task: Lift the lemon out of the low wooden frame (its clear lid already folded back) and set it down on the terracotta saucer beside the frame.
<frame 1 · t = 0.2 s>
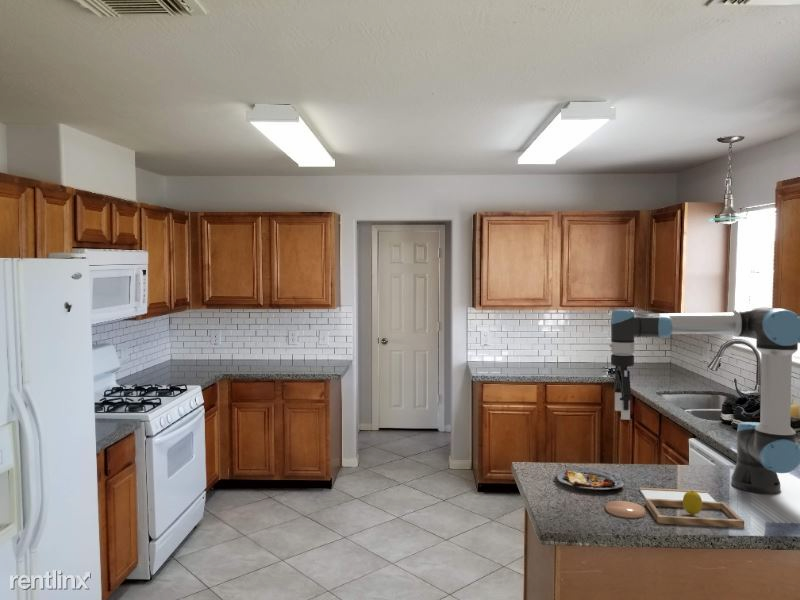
hand: (622, 414, 204), 28 cm above the counter, fingers open, 13 cm apart
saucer: (625, 510, 189), on the counter
food plate: (589, 483, 216), on the counter
lemon: (692, 516, 185), resting in wooden frame
lid: (678, 498, 199), on the counter
wooden frame: (692, 515, 185), on the counter
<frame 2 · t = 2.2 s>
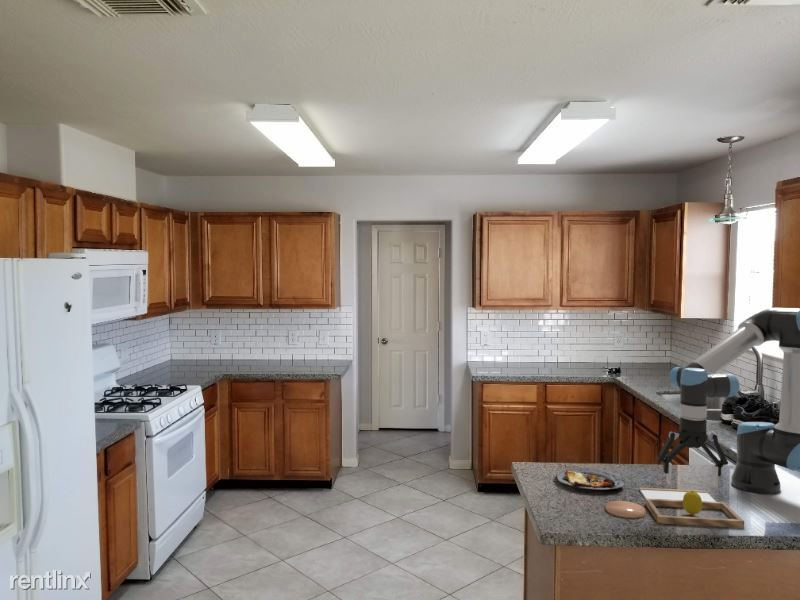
hand: (691, 484, 185), 10 cm above the counter, fingers open, 13 cm apart
nothing on the counter moved.
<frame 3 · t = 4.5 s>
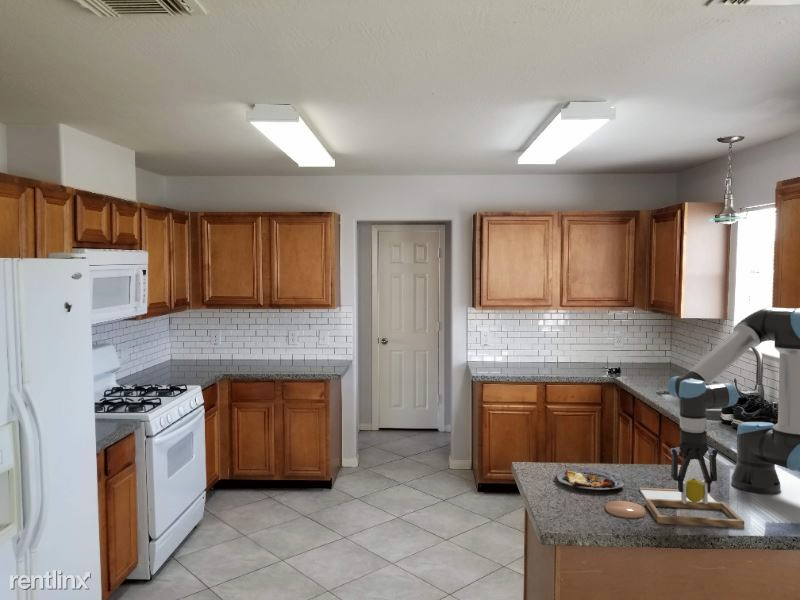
hand: (694, 502, 185), 4 cm above the counter, fingers closed on lemon, 5 cm apart
lemon: (694, 503, 185), point 4 cm above the counter, touching gripper
everything else where it was.
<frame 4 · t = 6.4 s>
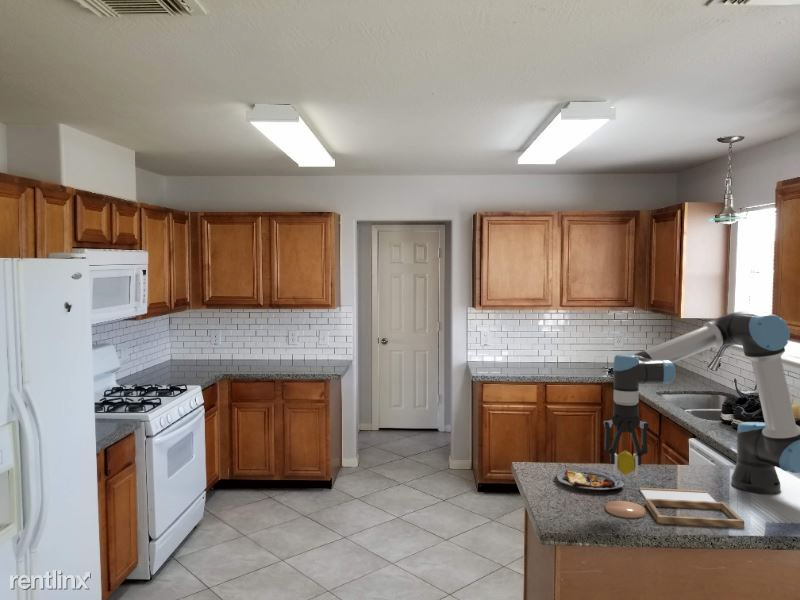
hand: (625, 474, 189), 12 cm above the counter, fingers closed on lemon, 5 cm apart
lemon: (625, 475, 189), point 11 cm above the counter, touching gripper
everything else where it was.
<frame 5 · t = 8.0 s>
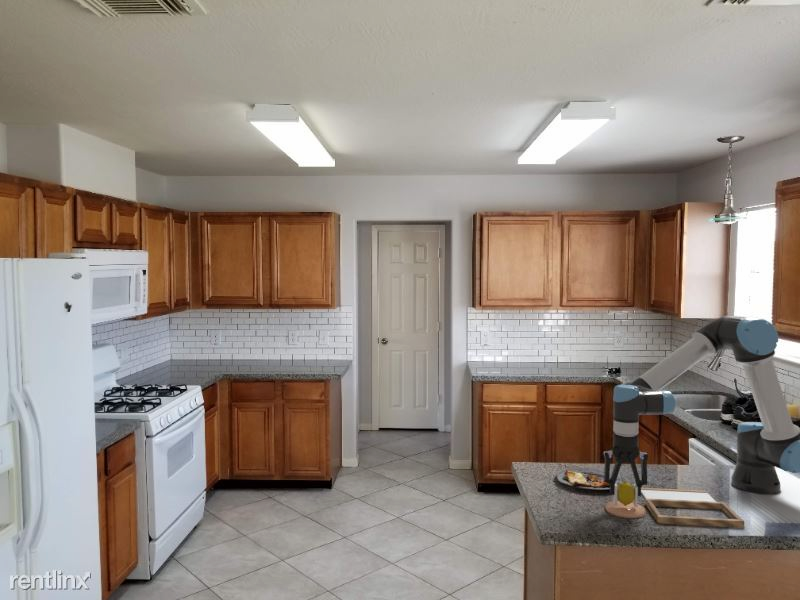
hand: (625, 504, 189), 2 cm above the counter, fingers closed on lemon, 5 cm apart
lemon: (625, 506, 189), point 1 cm above the counter, touching gripper
everything else where it was.
when the fingers open (1 cm above the counter, at t = 8.5 s): lemon stays where it is, resting on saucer.
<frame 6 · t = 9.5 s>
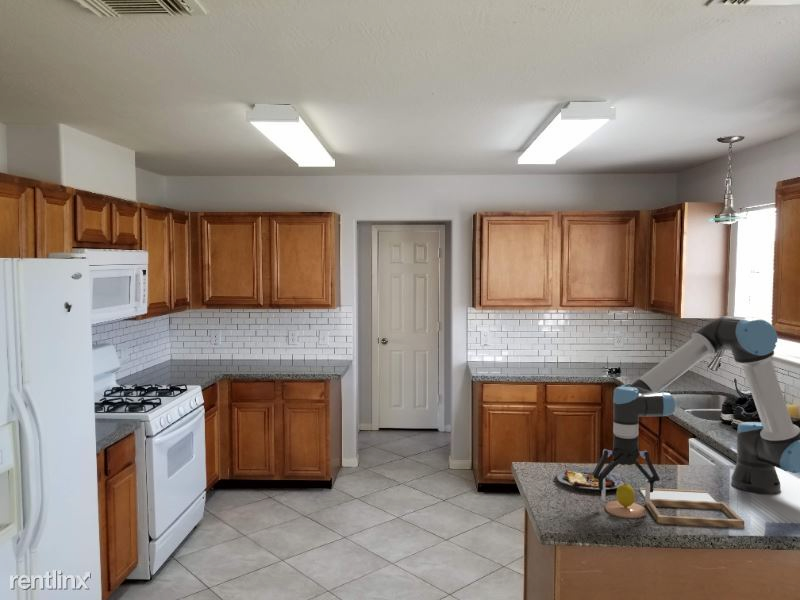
hand: (625, 500, 189), 3 cm above the counter, fingers open, 13 cm apart
lemon: (625, 508, 189), point 1 cm above the counter, touching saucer
everything else where it was.
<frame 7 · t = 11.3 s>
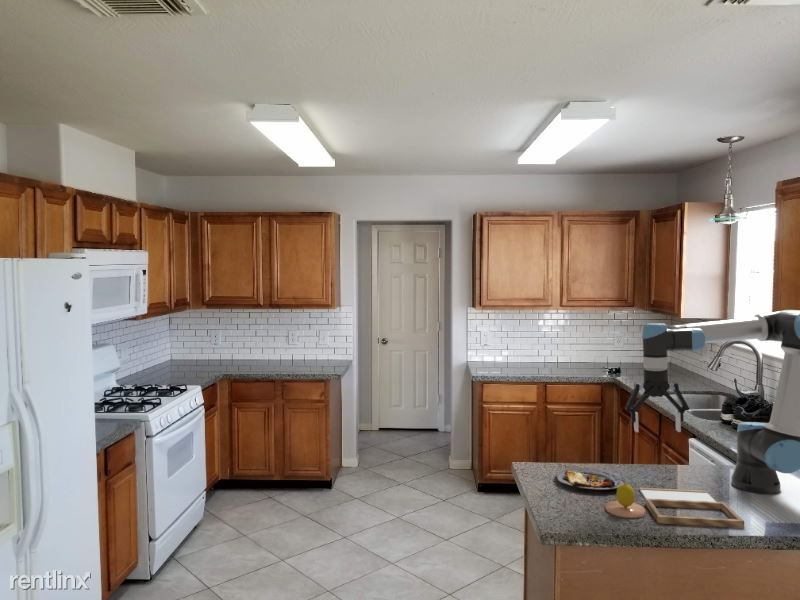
hand: (657, 431, 199), 23 cm above the counter, fingers open, 13 cm apart
nothing on the counter moved.
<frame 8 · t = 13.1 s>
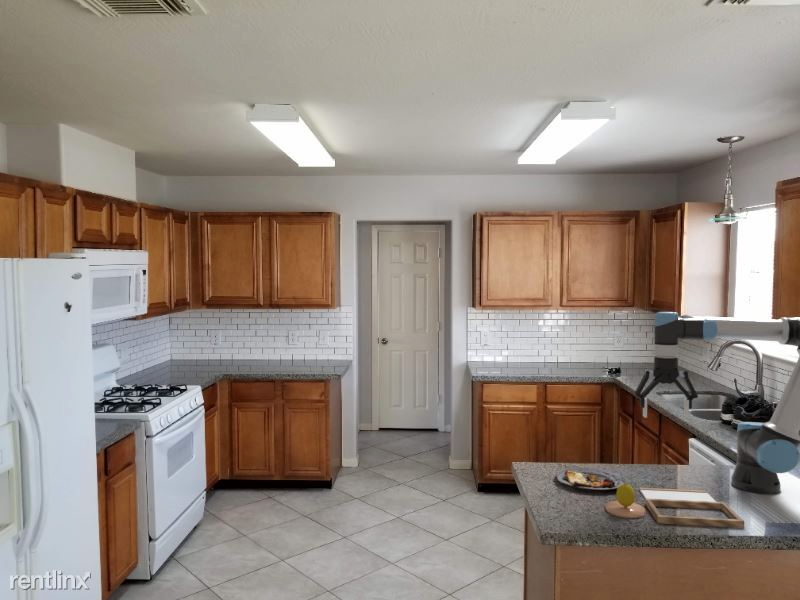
hand: (665, 417, 204), 27 cm above the counter, fingers open, 13 cm apart
nothing on the counter moved.
at the end: lemon inside the target area on the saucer (0.1 cm from its centre), point 0.8 cm above the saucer's base; the gripper is holding nothing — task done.
